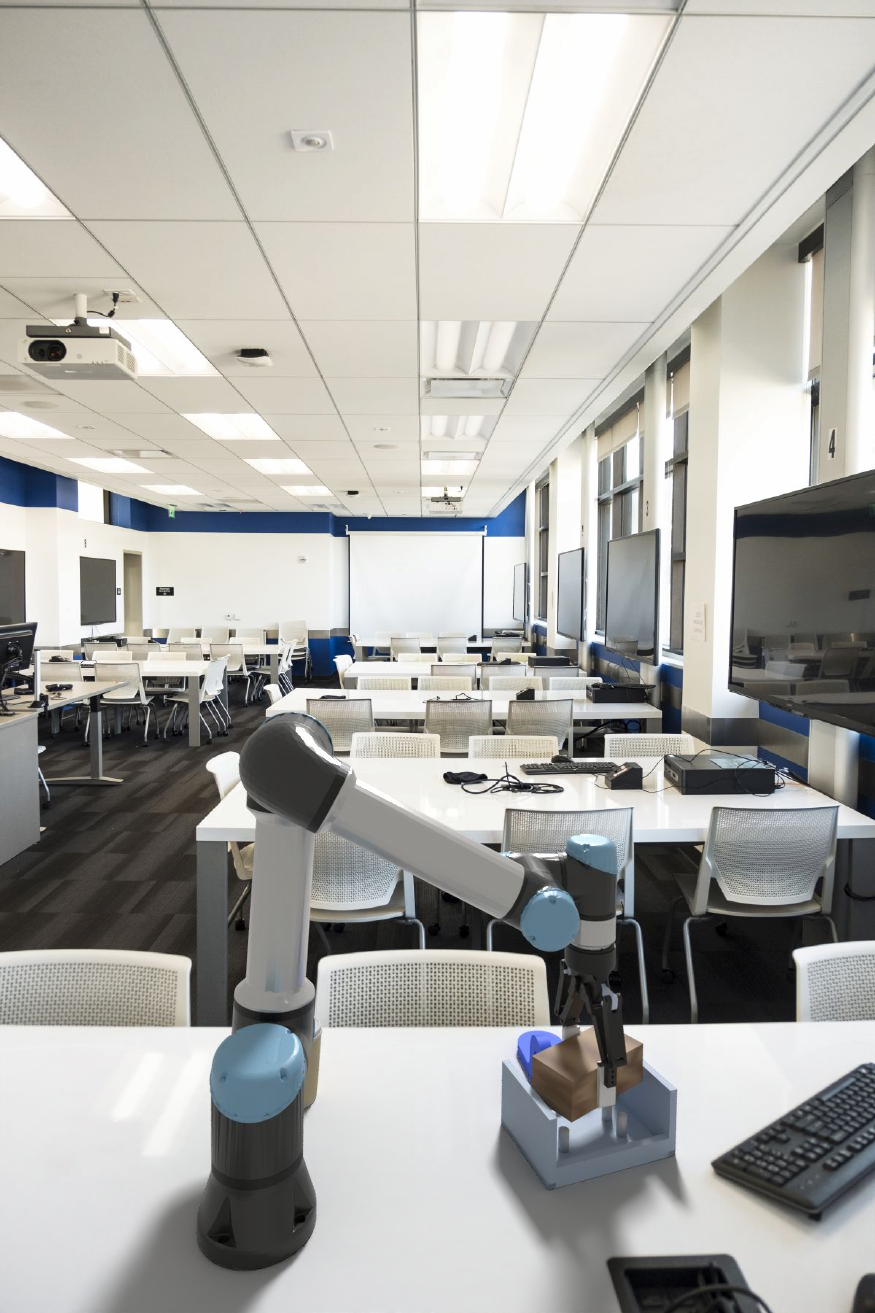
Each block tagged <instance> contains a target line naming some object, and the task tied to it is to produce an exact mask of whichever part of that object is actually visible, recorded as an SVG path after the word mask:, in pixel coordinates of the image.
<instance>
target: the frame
mask: <svg viewBox="0 0 875 1313" xmlns="http://www.w3.org/2000/svg"><path fill="white" fill-rule="evenodd" d="M501 1061H502V1062H501V1102H500V1103H501V1109H500V1112H501V1115H500V1124H501V1126H502V1127H503V1128H504V1130H505V1131H506V1132H507V1133H508V1135H509V1137H510V1138H511V1139H512V1140H513V1142H514V1144H515V1145H516V1147H517V1148H518V1149H519V1151H520V1152H521V1154H522V1155H523V1157H524V1158H525V1159H526V1161H527V1162H528V1164H529V1166H530V1167H531V1168H532V1170H533V1171H534V1172H535V1174H536V1176H537V1177H538V1178H539V1179H540V1181H541V1182H542V1184H543V1185H544V1186H545V1188H546V1189H547V1191H551V1190H554V1189H558V1188H561V1187H565V1186H569V1185H572V1184H573V1185H574V1184H576V1183H579V1182H584V1181H587V1180H591V1179H595V1178H597V1177H602V1176H605V1175H608V1174H613V1173H617V1172H620V1171H623V1170H626V1169H629V1168H633V1167H637V1166H641V1165H644V1164H649V1163H652V1162H655V1161H659V1160H662V1159H665V1158H670V1157H673V1156H676V1151H677V1150H676V1146H677V1143H676V1142H677V1141H676V1140H677V1116H678V1115H677V1113H678V1112H677V1111H678V1088H677V1087H676V1086H674V1085H673V1083H671V1082H670V1081H669V1080H668V1079H667V1078H666V1077H664V1076H663V1075H662V1074H661V1073H660V1072H659V1071H657V1070H656V1069H655V1068H654V1067H653V1066H652V1065H651V1064H649V1062H648V1061H647V1060H645V1059H644V1058H643V1082H641V1083H639V1084H637V1085H636V1086H634V1087H632V1088H631V1089H629V1090H627V1091H625V1092H624V1093H622V1094H620V1095H619V1096H617V1097H616V1099H615V1105H611V1106H607V1107H603V1108H599V1107H598V1108H596V1109H594V1110H593V1111H591V1112H589V1113H588V1114H586V1115H584V1116H582V1117H581V1118H579V1119H577V1120H576V1121H574V1122H572V1123H571V1122H570V1121H568V1120H567V1119H565V1118H564V1117H563V1116H561V1115H560V1114H558V1113H557V1112H555V1111H554V1110H552V1109H551V1108H550V1107H548V1106H547V1105H546V1104H545V1103H544V1101H543V1100H542V1099H541V1098H540V1096H539V1095H538V1094H537V1093H536V1092H535V1090H534V1089H533V1088H532V1087H531V1086H532V1084H530V1083H529V1082H528V1080H527V1079H526V1078H525V1077H524V1075H523V1074H522V1073H521V1072H520V1071H519V1069H518V1068H517V1067H516V1066H515V1064H514V1063H513V1062H512V1061H511V1060H510V1059H509V1058H508V1059H505V1060H501Z"/></svg>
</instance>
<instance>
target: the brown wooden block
mask: <svg viewBox="0 0 875 1313" xmlns="http://www.w3.org/2000/svg"><path fill="white" fill-rule="evenodd" d="M624 1037H625V1046H626V1055H627V1065H626V1066H622V1067H618V1068H617V1084H616V1097H617V1096H619V1095H620V1094H622V1093H624V1092H625V1091H627V1090H629V1089H631V1088H632V1087H634V1086H636V1085H637V1084H639V1083H641V1082H643V1059H644V1043H643V1042H641V1041H639V1040H637V1039H635V1038H633V1037H632V1036H630V1035H628V1034H626V1033H624ZM598 1061H601V1058H600V1054H599V1049H598V1044H597V1040H596V1035H595V1030H594V1026H591V1027H589V1028H587V1029H584V1030H582V1031H581V1033H578V1034H576V1035H574V1036H572V1037H570V1038H568V1039H566V1040H564V1041H562V1042H560V1043H558V1044H556V1045H554V1046H551V1047H549V1048H547V1049H545V1050H543V1051H541V1052H539V1053H537V1054H535V1055H533V1056H532V1082H531V1087H532V1088H533V1089H534V1090H535V1092H536V1093H537V1094H538V1095H539V1096H540V1098H541V1099H542V1100H543V1101H544V1103H545V1104H546V1105H547V1106H548V1107H550V1108H551V1109H552V1110H554V1111H555V1112H557V1113H558V1114H560V1115H561V1116H563V1117H564V1118H565V1119H567V1120H568V1121H570V1122H571V1123H572V1122H574V1121H576V1120H577V1119H579V1118H581V1117H582V1116H584V1115H586V1114H588V1113H589V1112H591V1111H593V1110H594V1109H596V1108H598V1106H597V1062H598Z"/></svg>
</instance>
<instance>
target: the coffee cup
mask: <svg viewBox="0 0 875 1313" xmlns="http://www.w3.org/2000/svg"><path fill="white" fill-rule="evenodd" d="M314 1018H315V1034H314V1039H313V1042H312V1046H311V1052H310V1059H309V1065H308V1072H307V1080H306V1087H305V1094H304V1109H306V1108H308V1107H309V1106H311V1105H312V1104H314V1102H315V1101H316V1099H317V1095H318V1087H319V1072H320V1063H321V1062H320V1060H321V1049H322V1048H321V1047H322V1034H323V1025H322V1022H321V1021H320V1019H319V1018H318V1017H317V1016H316V1015H314Z"/></svg>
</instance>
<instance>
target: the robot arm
mask: <svg viewBox="0 0 875 1313" xmlns="http://www.w3.org/2000/svg"><path fill="white" fill-rule="evenodd" d="M334 747H335V746H334V743H333V738H332V737H331V735H330V732H329V731H328V729H327V727H326V726H325V725H324V724H323V723H322V722H321V721H320V720H319V719H317V718H316V717H314V716H312V715H310V714H308V713H305V712H302V711H287V712H281V713H277V714H274V715H272V716H271V717H268V718H267V719H266V720H265V721H263V723H261V724H260V725H259V727H258V729H257V730H256V731H254V732H253V733H252V734H251V735H250V736H249V737H248V739H247V740H246V741H245V743H244V745H243V747H242V749H241V751H240V754H239V759H238V774H239V779H240V781H241V784H242V786H243V788H244V789H245V791H246V801H245V802H246V803H245V807H246V809H247V810H248V811H249V812H250V813H251V814H252V815H253V816H254V818H255V831H254V846H253V847H254V848H253V861H252V862H253V863H252V876H251V877H252V878H251V879H252V880H251V890H250V891H251V894H250V895H251V896H250V907H249V908H250V909H249V924H248V926H249V927H248V928H249V929H248V939H247V940H248V943H247V958H246V972H245V978H243V980H241V981H240V982H239V983H238V984H237V985H236V987H235V989H234V994H233V1008H232V1009H233V1010H232V1024H231V1034H230V1035H228V1036H226V1038H224V1040H223V1041H222V1042H220V1044H219V1046H218V1047H217V1048H216V1051H215V1052H214V1055H213V1058H212V1062H211V1067H210V1072H209V1079H208V1080H209V1093H210V1159H211V1161H210V1172H209V1175H208V1178H207V1181H206V1184H205V1187H204V1190H203V1193H202V1196H201V1200H200V1203H199V1205H198V1208H197V1209H198V1210H197V1214H196V1240H197V1244H198V1247H199V1248H200V1251H201V1252H202V1253H203V1255H205V1257H206V1258H208V1259H209V1260H210V1261H211V1262H212V1263H215V1264H216V1265H218V1266H221V1267H223V1268H226V1269H232V1270H240V1271H245V1270H246V1271H249V1270H257V1269H263V1268H267V1267H270V1266H273V1265H276V1264H278V1263H280V1262H282V1261H284V1260H286V1259H287V1258H289V1257H290V1256H292V1255H293V1254H294V1253H296V1252H298V1251H299V1250H300V1249H301V1248H302V1247H303V1246H304V1245H305V1244H306V1242H307V1241H308V1240H309V1238H310V1237H311V1235H312V1233H313V1231H314V1229H315V1226H316V1223H317V1222H316V1221H317V1215H318V1214H317V1209H318V1208H317V1206H318V1203H317V1194H316V1189H315V1186H314V1185H313V1181H312V1178H311V1175H310V1173H309V1170H308V1166H307V1163H306V1161H305V1158H304V1112H305V1111H304V1109H305V1108H304V1094H305V1087H306V1080H307V1072H308V1065H309V1059H310V1052H311V1046H312V1042H313V1039H314V1034H315V1018H314V1016H315V998H316V997H315V996H316V988H315V985H314V984H313V982H311V981H310V980H309V978H308V977H306V976H307V965H308V964H307V962H308V948H309V933H310V917H311V903H312V902H311V901H312V888H313V876H314V875H313V874H314V859H315V857H314V856H315V845H316V843H315V842H316V835H321V834H324V833H327V832H328V833H331V834H332V835H335V836H337V837H339V838H340V839H343V840H344V841H347V842H348V843H350V844H352V845H354V846H356V847H358V848H361V849H362V850H364V851H366V852H368V853H369V854H371V855H373V856H375V857H377V858H379V859H381V860H383V861H385V862H387V863H390V864H391V865H393V866H395V867H397V868H399V869H401V870H402V871H405V872H406V873H409V874H411V875H412V876H415V877H416V878H419V879H421V880H423V881H424V882H426V883H428V884H430V885H431V886H434V887H436V888H438V889H440V890H441V891H442V892H446V893H448V894H449V895H452V896H453V897H455V898H458V899H459V900H461V901H463V902H465V903H467V904H469V905H471V906H472V907H475V908H477V909H478V910H480V911H482V912H484V913H486V914H489V916H493V917H494V918H496V919H498V920H500V921H502V922H503V923H505V924H507V925H509V926H512V928H513V927H514V929H517V930H519V931H521V934H522V935H523V937H524V938H525V939H526V940H527V941H528V942H529V943H530V944H531V945H532V947H535V948H536V949H538V950H540V951H544V952H557V951H558V952H559V951H560V950H563V949H564V958H563V959H560V960H559V978H558V985H557V992H556V997H555V1003H554V1010H553V1011H554V1015H555V1016H556V1017H557V1016H559V1022H560V1025H562V1026H561V1027H562V1031H561V1034H562V1035H561V1036H562V1037H561V1040H562V1041H564V1040H566V1039H568V1038H570V1037H572V1036H574V1035H576V1034H578V1033H580V1031H581V1026H580V1025H579V1024H578V1023H580V1022H582V1021H581V1018H580V1014H581V1012H582V1010H583V1008H584V1005H585V1007H586V1012H587V1014H588V1015H590V1017H591V1021H592V1025H593V1026H594V1030H595V1035H596V1040H597V1044H598V1049H599V1054H600V1058H601V1061H598V1062H597V1106H598V1107H599V1108H603V1107H607V1106H611V1105H615V1099H616V1084H617V1068H618V1067H622V1066H626V1065H627V1055H626V1046H625V1037H624V1034H625V1030H624V1022H623V1021H624V1020H623V1014H622V1010H623V1009H622V1008H623V996H622V994H621V993H620V992H617V993H614V992H613V991H612V990H611V986H610V982H609V976H610V974H611V973H612V971H614V969H615V968H616V961H617V960H616V956H617V955H616V954H617V953H616V952H617V950H616V949H617V948H616V946H617V945H616V942H615V941H616V939H617V938H616V935H617V934H616V933H617V932H616V931H617V930H616V929H617V925H616V924H617V921H616V920H617V893H618V892H617V890H618V886H617V885H618V874H619V869H618V853H617V846H616V844H615V843H614V841H613V840H612V839H610V838H609V837H606V836H603V835H598V834H592V833H580V834H576V835H571V836H570V837H568V838H567V839H566V844H565V847H564V850H558V851H513V850H509V851H505V852H497V851H495V850H494V849H492V848H490V847H488V846H486V845H484V844H482V843H480V842H479V841H477V840H474V839H473V838H471V837H469V836H467V835H465V834H463V833H462V832H459V831H457V830H456V829H454V828H452V827H450V826H448V825H447V824H444V823H443V822H440V821H439V820H436V819H435V818H432V817H431V816H430V815H427V814H425V813H423V812H422V811H419V810H417V809H416V808H414V807H412V806H410V805H408V804H407V803H405V802H403V801H401V800H399V799H396V798H395V797H393V796H391V795H389V794H388V793H385V792H384V791H382V790H380V789H379V788H376V787H374V786H373V785H370V784H368V783H366V782H365V781H362V780H360V779H359V778H357V776H356V774H355V770H354V767H353V766H351V765H350V764H348V763H346V762H343V761H342V760H340V759H339V758H337V757H336V756H335V755H334V753H335V752H334V750H335V748H334ZM598 1005H601V1006H599V1007H595V1006H598ZM593 1026H592V1027H593Z"/></svg>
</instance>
